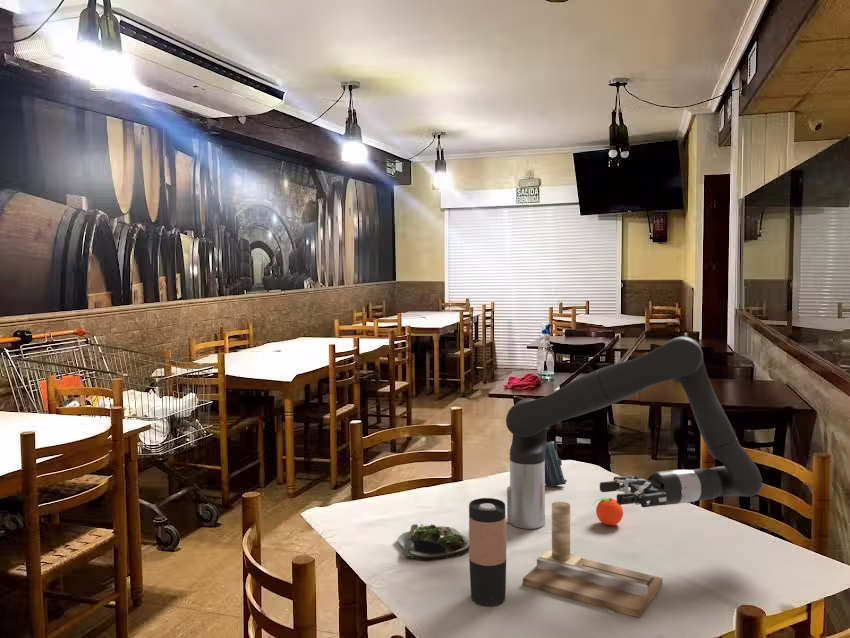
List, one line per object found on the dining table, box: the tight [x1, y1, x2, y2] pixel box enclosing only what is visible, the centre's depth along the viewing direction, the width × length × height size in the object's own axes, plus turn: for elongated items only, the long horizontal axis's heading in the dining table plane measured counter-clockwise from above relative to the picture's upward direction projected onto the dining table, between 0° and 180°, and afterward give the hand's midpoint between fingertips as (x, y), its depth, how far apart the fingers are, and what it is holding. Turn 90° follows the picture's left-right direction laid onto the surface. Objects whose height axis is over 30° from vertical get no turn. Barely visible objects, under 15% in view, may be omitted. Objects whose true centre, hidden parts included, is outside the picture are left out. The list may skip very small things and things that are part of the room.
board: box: [522, 557, 663, 619], centre depth 141 cm, size 25×16×4 cm, turn 55°
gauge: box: [539, 501, 583, 568], centre depth 147 cm, size 8×6×14 cm
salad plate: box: [397, 523, 469, 562], centre depth 164 cm, size 19×18×5 cm
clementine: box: [591, 497, 624, 526], centre depth 174 cm, size 8×7×7 cm
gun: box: [545, 440, 567, 488], centre depth 207 cm, size 3×17×15 cm
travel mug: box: [468, 497, 507, 607], centre depth 136 cm, size 8×8×20 cm
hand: (608, 493), depth 148 cm, fingers open, 8 cm apart
